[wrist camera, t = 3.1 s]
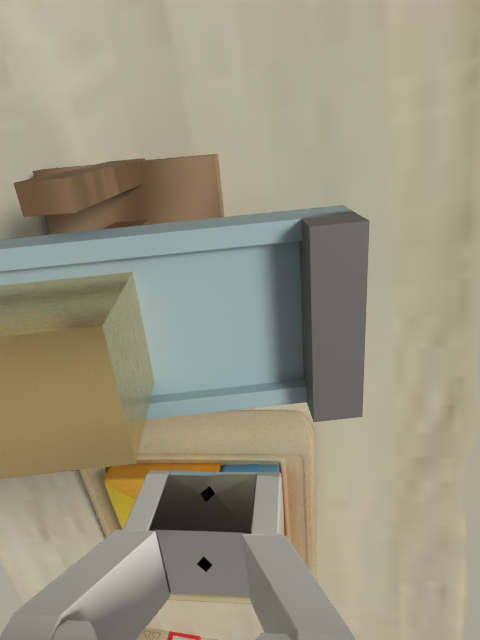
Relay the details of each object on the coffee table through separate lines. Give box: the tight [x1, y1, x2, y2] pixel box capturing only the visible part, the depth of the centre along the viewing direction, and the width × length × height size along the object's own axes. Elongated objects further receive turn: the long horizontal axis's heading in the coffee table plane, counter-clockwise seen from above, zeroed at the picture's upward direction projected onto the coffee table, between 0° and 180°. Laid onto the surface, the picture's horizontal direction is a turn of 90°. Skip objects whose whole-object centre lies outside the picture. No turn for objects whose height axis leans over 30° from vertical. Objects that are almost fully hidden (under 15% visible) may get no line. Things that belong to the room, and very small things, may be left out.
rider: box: [0, 272, 155, 479], centre depth 15 cm, size 6×5×5 cm
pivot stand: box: [14, 154, 224, 235], centre depth 22 cm, size 10×12×9 cm
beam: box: [0, 205, 369, 422], centre depth 17 cm, size 22×8×3 cm, turn 95°
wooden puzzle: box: [79, 410, 317, 604], centre depth 33 cm, size 18×19×4 cm
